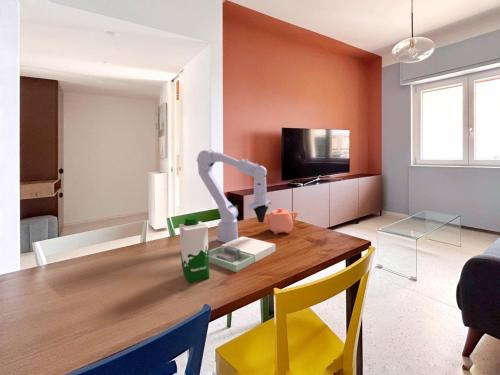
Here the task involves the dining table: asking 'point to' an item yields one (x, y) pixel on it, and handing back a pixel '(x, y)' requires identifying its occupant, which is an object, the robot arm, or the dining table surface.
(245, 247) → the board
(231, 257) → the tile
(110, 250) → the dining table surface
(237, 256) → the tile
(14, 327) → the dining table surface
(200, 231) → the milk carton
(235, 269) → the box
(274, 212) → the teapot
